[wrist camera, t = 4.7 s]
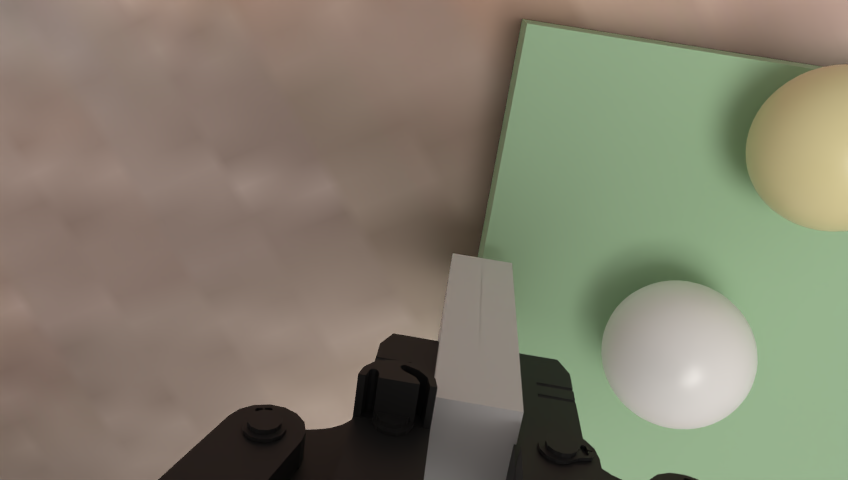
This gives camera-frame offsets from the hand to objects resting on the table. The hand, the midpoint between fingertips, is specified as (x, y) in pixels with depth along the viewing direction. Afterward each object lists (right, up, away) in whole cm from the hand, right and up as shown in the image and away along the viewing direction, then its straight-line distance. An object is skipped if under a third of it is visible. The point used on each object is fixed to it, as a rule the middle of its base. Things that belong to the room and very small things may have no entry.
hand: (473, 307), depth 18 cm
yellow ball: (+8, +4, -2) cm, 9 cm away
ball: (+5, -1, -1) cm, 5 cm away
